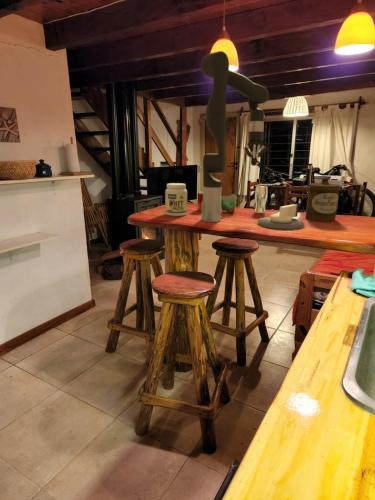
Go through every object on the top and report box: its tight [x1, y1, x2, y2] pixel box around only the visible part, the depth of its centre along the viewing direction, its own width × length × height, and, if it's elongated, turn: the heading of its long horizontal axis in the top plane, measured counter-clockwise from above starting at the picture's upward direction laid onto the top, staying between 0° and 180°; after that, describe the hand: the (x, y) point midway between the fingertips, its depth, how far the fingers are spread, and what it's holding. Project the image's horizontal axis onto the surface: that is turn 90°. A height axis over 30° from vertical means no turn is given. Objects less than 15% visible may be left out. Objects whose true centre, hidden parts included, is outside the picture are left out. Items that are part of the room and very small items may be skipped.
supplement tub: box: [164, 182, 188, 217], centre depth 177 cm, size 12×12×17 cm
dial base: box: [257, 216, 305, 231], centre depth 156 cm, size 22×22×2 cm
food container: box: [221, 193, 238, 214], centre depth 184 cm, size 12×6×10 cm, turn 143°
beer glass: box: [254, 185, 268, 214], centre depth 184 cm, size 7×7×15 cm
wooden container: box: [305, 176, 341, 223], centre depth 167 cm, size 15×15×22 cm
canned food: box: [197, 190, 203, 212], centre depth 190 cm, size 8×8×11 cm
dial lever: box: [270, 203, 299, 223], centre depth 157 cm, size 18×10×7 cm, turn 132°
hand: (253, 165), depth 170 cm, fingers closed
